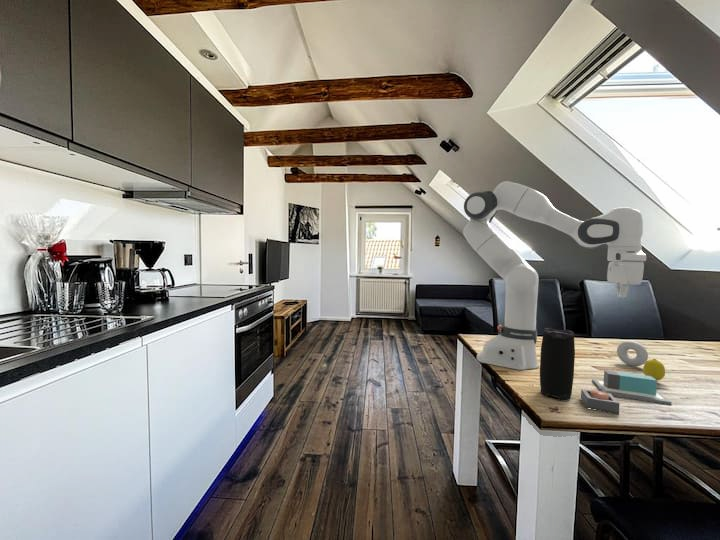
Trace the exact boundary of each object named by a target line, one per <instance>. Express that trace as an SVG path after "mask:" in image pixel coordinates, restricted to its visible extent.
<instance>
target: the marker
mask: <svg viewBox="0 0 720 540" xmlns="http://www.w3.org/2000/svg"><path fill="white" fill-rule="evenodd" d="M603 381H604V385H605V386H606V387H607V388H611V389H617V390H624V391H631V392H637V393H644V394H651V395H656V392H657V391H658V387H657V386H658V380H656V379H654V378H653V377H651V376H646V375H645V374H638V373H637V374H636V373H630V372H621V371H614V370H606V369H604V370H603Z"/></svg>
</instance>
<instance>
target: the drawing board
mask: <svg viewBox="0 0 720 540" xmlns="http://www.w3.org/2000/svg"><path fill="white" fill-rule="evenodd" d="M591 382H592V383H593V384H594V385H595V386H596V388H597V389H598V388H599V389H598V391H602V392H605V393H611V394H612V396H613V397H617V398H625V399H630V398H632V399H631V400H636V399H638V400H637V401H643V400H645V401H644V402H649V401H652V402H651V403H656V402H658V403H657V404H662V403H664V404H663V405H668V404H670V405H669V406H672V405H673V404H672V403H673V402H672V401H671V400H670V399H668V398H667V397H666V396H664V395H663V394H661V393H660V391H658V390H657V392H656V395H651V394H644V393H637V392H631V391H624V390H617V389H611V388H607V387H606V386H605V385H604V379H603V380H602V379H596V378H592V380H591Z"/></svg>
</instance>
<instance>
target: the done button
mask: <svg viewBox="0 0 720 540" xmlns="http://www.w3.org/2000/svg"><path fill="white" fill-rule="evenodd" d="M591 397H592V398H598V399H604V400H608V399H609V395H608V394H607V393H605V392H602V391H600V390H596V389H593V390H591Z"/></svg>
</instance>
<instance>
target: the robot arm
mask: <svg viewBox="0 0 720 540" xmlns="http://www.w3.org/2000/svg"><path fill="white" fill-rule="evenodd" d="M463 210H464V213H465V214H466V216H467V217H468V218H469V222H468V223H466V225H465V226H464V227H463V232H462V234H463V237H464V238H465V240H466V241H467V243H468V244H469V246H471V248H472V250H474V251H475V252H476V253H477V255H479V256H480V257H481V258H482V260H483V261H484V262H485V263H487V265H488V266H489V267H490V268H492V270H493V271H494V272H496V274H497V275H499V276H500V278H501V279H503V280H504V281H505V295H504V296H505V297H504V298H505V303H504V304H505V305H504V308H505V309H504V325H501V324H499V325H498V324H497V325H498V326H497V330H498V335H495V336H494V337H492V338H490V339H489V340H487V341H486V342H485V343H484V345H483V348H482V351H480V352H477V355H476V360H477V361H478V362H479V363H482V364H489V365H493V366H498V367H502V368H508V369H513V370H519V371H525V370H532V369H538V368H540V364H539V362H538V356H537V348H536V344H537V341H538V330H537V311H538V310H537V308H538V295H539V282H540V281H539V277H540V276H539V274H538V272H537V271H536V269H535V268H534V267H532V266H531V265H530V264H529V263H528V262H527V261H526V260H525V259H524V258H523V257H522V256H521V255H520V254H519V253H518V252H517V251H516V250H515V249H514V248H513V247H512V246H511V245H510V244H509V243H508V242H507V241H506V240H505V239H504V238H503V236H501V235H500V234H499V233H498V232H497V231H496V230H495V229H494V228H493V227H492V225H491V223H492V220H493V219H494V218H495V216H496V214H497V212H498V211H499V210H501V211H502V210H503V211H505V212H508V213H510V214H513V215H515V216H517V217H519V218H522V219H525V220H528V221H532V222H536V223H540V224H543V225H547V226H548V227H551V228H553V229H555V230H557V231H559V232H562V233H563V234H566V235H568V236H569V237H571V239H572V240H573V241H574V243H576V244H577V246H579V247H581V248H583V249H589V250H592V249H597V248H599V247H601V246H602V245H607V258H606V259H607V260H606V261H608V264H607V265H608V266H607V272H606V273H607V274H606V280H607V282H609V283H614V284H615V288H616V296H617V297H618V298H627V297H628V291H629V289H630V285H633V286H634V285H635V286H640V285H641V284H642V282H643V276H644V270H645V268H644V267H645V263H644V262H646V261H647V254H646V253H644V252H643V250H642V248H643V245H642V242H641V241H642V237H643V232H644V231H643V229H644V225H643V223H644V221H643V215H642V212H641V211H640V210H639V209H636V208H632V207H626V206H625V207H620V206H619V207H614V208H613V209H611V210H609V211H608V212H606V213H603V214H601V215H598V216H596V217H595V216H594V217H591V218H588V219H586V220H584V221H583V220H579V219H577V218H575V217H572V216H570V215H568V214H566V213H563V212H561V211H560V210H558V209H557V208H555V206H553V204H552V203H551V202H550V200H549V198H548V197H547V196H546V195H544V194H543V193H541V192H539V191H538V190H536V189H534V188H532V187H530V186H526V185H524V184H521V183H516V182H514V181H513V182H512V181H510V180H507V181H506V180H505V181H502V182H500V183H499V184H497V186H496V187H495V188H494V189H493V190H485V191H476V192H474V193H471V194H469V195H468V196H467V197H466V199H465V200H464V203H463Z"/></svg>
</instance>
